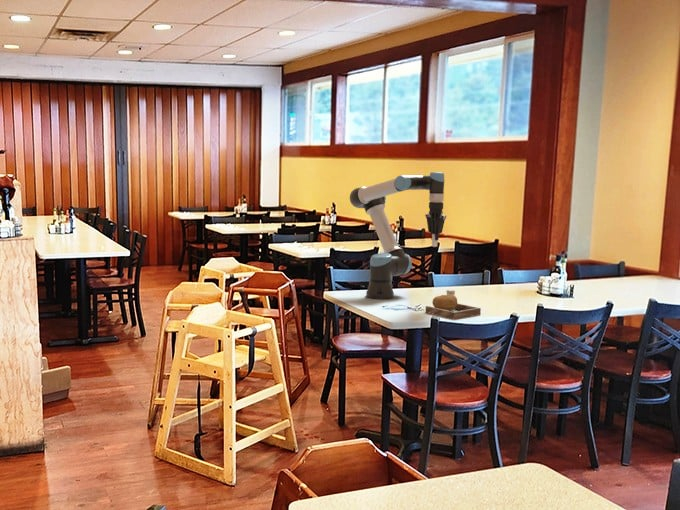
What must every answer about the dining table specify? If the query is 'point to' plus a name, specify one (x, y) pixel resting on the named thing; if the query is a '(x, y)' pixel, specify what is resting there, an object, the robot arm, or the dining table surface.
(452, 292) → the pepper shaker
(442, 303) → the potato
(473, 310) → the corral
